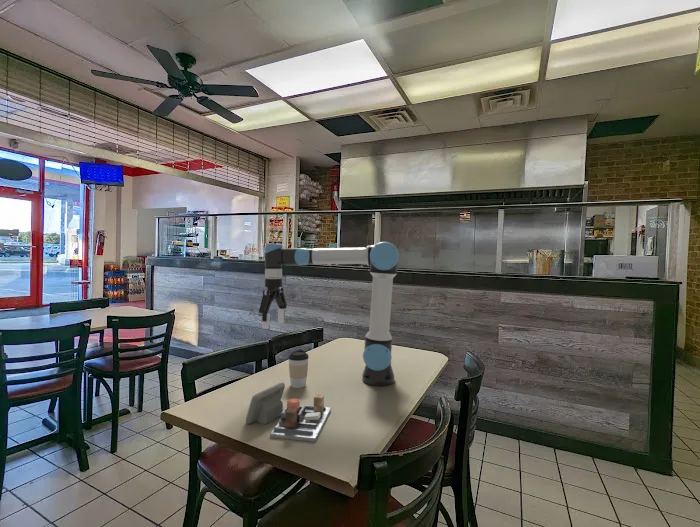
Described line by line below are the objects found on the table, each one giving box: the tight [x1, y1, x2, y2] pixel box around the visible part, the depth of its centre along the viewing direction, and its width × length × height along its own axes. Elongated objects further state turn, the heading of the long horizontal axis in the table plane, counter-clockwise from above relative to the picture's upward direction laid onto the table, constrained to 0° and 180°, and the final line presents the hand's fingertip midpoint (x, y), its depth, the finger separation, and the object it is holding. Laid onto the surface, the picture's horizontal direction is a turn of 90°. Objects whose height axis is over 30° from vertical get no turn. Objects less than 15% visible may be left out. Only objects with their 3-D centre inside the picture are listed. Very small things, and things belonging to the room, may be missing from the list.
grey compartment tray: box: [269, 404, 332, 443], centre depth 119 cm, size 15×22×4 cm
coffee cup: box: [287, 349, 309, 389], centre depth 154 cm, size 9×9×15 cm
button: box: [286, 398, 301, 412], centre depth 120 cm, size 4×4×3 cm
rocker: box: [304, 412, 321, 420], centre depth 119 cm, size 5×3×1 cm, turn 80°
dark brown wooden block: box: [285, 408, 297, 429], centre depth 113 cm, size 3×3×6 cm
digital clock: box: [245, 382, 286, 425], centre depth 123 cm, size 16×9×11 cm, turn 140°
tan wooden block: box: [313, 393, 325, 412], centre depth 125 cm, size 3×3×6 cm
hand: (273, 325), depth 153 cm, fingers open, 13 cm apart
